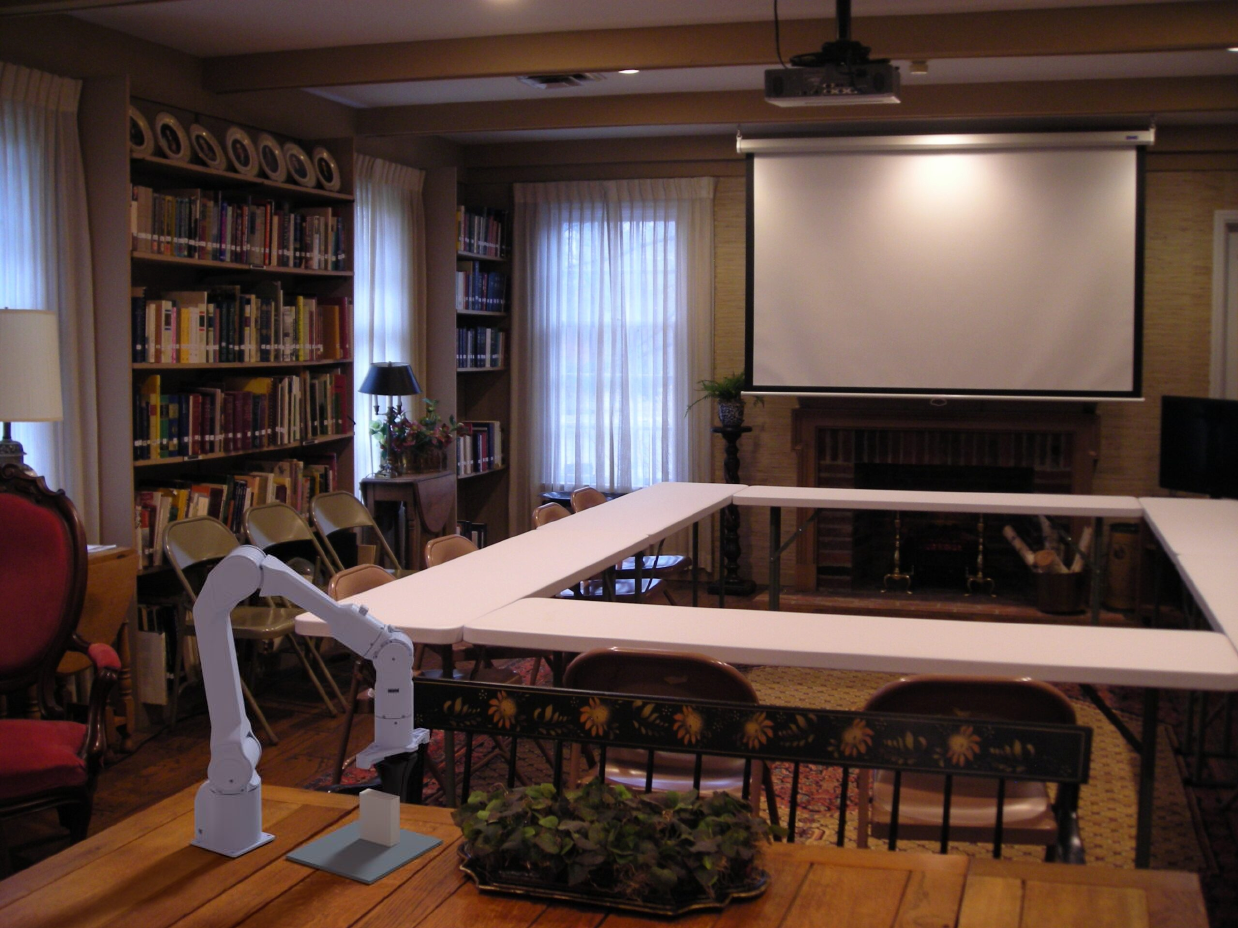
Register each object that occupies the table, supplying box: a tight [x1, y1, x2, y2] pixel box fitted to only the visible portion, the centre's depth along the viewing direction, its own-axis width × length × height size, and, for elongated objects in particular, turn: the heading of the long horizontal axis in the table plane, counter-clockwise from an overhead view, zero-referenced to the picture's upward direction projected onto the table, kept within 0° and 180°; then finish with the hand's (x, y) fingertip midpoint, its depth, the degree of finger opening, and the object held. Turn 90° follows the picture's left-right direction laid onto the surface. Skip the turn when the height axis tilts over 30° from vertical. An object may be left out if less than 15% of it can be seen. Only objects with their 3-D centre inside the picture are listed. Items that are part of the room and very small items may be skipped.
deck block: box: [358, 788, 401, 847], centre depth 173 cm, size 6×2×7 cm, turn 61°
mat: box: [285, 818, 444, 885], centre depth 171 cm, size 16×16×1 cm
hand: (394, 800), depth 176 cm, fingers closed
